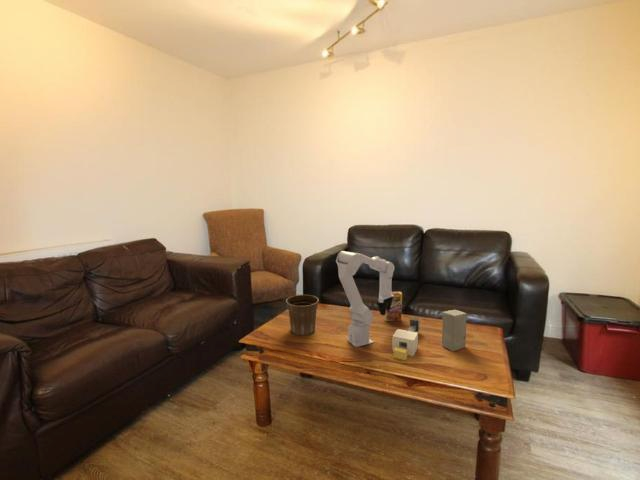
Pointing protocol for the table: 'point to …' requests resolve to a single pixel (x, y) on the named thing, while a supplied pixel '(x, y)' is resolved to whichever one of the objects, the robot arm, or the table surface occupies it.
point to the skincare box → (454, 329)
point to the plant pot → (302, 313)
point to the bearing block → (405, 341)
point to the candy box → (394, 308)
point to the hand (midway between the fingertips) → (385, 312)
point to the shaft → (413, 326)
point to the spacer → (400, 353)
